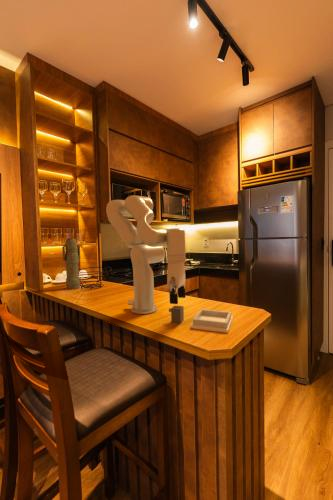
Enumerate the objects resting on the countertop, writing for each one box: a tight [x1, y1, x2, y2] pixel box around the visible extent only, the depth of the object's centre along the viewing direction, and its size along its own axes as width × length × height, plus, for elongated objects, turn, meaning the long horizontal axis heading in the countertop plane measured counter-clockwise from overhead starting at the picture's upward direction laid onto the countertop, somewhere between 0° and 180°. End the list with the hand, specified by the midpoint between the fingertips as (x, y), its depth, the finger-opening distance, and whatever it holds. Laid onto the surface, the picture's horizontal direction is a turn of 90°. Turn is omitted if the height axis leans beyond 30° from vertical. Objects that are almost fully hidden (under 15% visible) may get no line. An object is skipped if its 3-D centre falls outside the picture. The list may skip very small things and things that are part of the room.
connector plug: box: [168, 305, 185, 325], centre depth 99 cm, size 6×4×6 cm
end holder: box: [190, 308, 234, 333], centre depth 96 cm, size 14×16×3 cm
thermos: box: [61, 237, 81, 290], centre depth 167 cm, size 9×12×35 cm
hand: (178, 300), depth 98 cm, fingers open, 9 cm apart
